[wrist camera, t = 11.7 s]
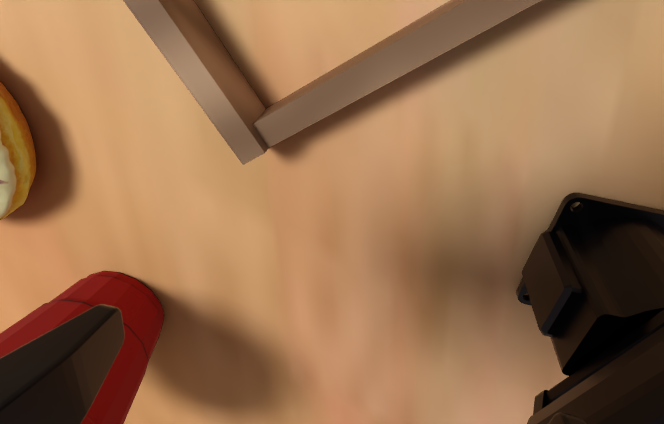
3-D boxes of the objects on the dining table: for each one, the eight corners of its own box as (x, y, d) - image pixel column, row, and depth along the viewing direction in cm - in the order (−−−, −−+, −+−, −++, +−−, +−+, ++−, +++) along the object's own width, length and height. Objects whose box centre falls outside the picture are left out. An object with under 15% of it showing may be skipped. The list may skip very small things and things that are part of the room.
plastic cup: (109, 204, 25) (-103, 389, 15) (233, 331, 29) (133, 545, 18) (10, 273, 29) (-204, 450, 19) (129, 374, 33) (2, 565, 23)
